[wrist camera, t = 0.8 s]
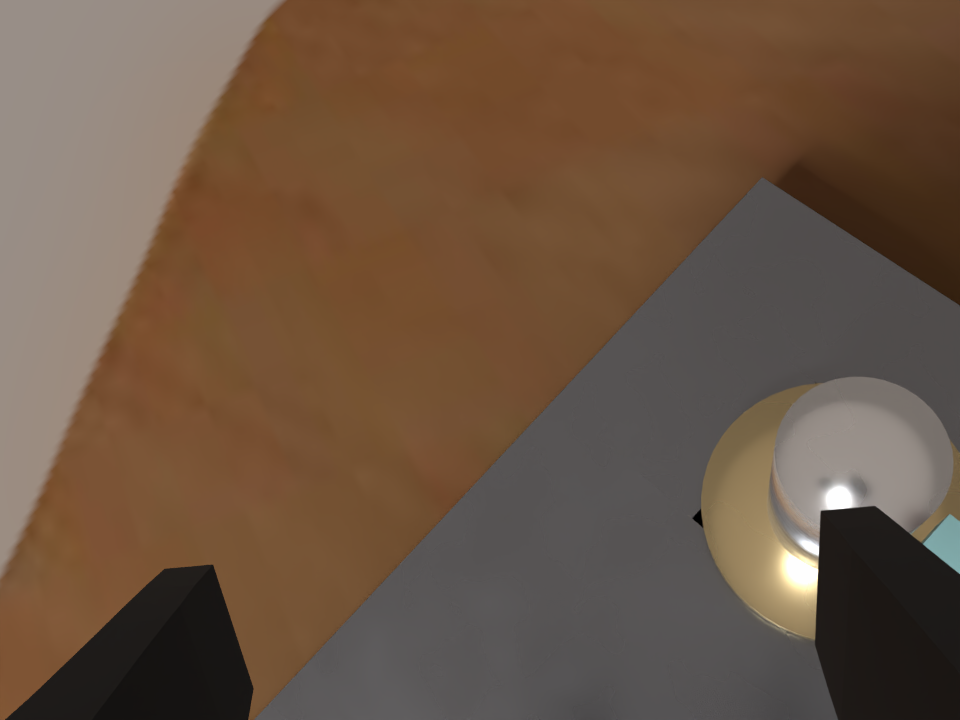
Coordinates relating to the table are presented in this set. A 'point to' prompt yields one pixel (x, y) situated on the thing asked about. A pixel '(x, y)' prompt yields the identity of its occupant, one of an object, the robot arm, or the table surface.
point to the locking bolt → (946, 541)
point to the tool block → (638, 504)
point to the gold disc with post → (819, 485)
